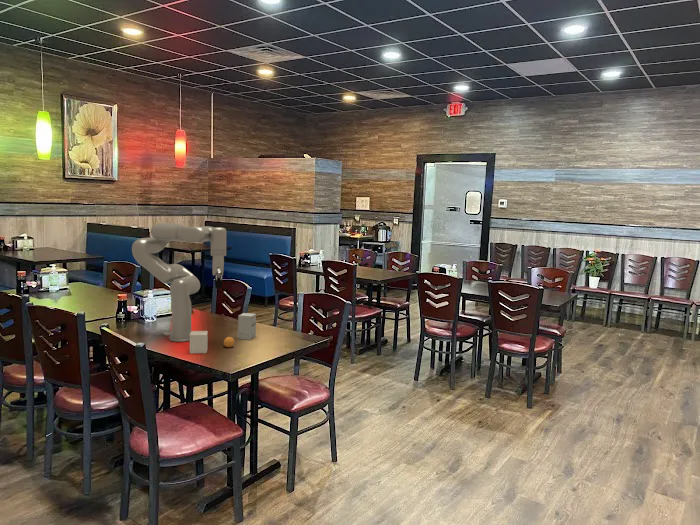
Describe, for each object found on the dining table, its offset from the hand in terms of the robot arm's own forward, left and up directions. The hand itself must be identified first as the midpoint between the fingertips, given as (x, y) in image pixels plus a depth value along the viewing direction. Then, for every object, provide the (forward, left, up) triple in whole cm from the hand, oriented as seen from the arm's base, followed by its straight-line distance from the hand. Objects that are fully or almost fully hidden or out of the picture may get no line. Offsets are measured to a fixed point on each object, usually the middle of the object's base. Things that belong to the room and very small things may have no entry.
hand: (218, 286), depth 272 cm
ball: (+5, -7, -26) cm, 28 cm away
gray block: (-9, -13, -29) cm, 33 cm away
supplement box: (+14, +10, -29) cm, 34 cm away
